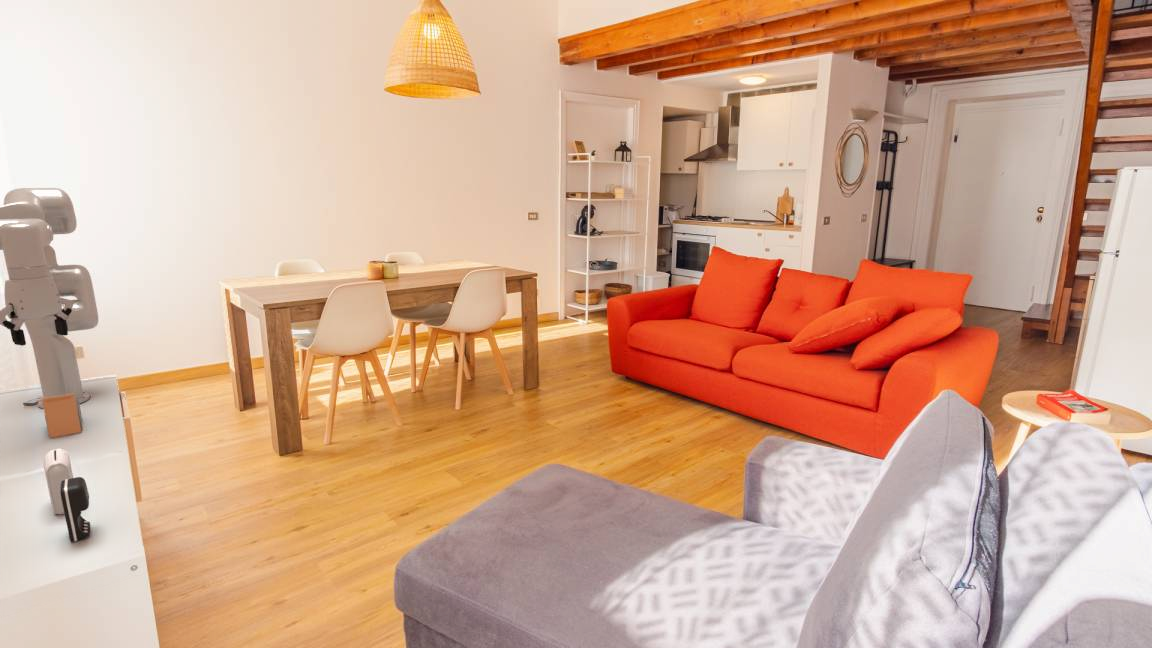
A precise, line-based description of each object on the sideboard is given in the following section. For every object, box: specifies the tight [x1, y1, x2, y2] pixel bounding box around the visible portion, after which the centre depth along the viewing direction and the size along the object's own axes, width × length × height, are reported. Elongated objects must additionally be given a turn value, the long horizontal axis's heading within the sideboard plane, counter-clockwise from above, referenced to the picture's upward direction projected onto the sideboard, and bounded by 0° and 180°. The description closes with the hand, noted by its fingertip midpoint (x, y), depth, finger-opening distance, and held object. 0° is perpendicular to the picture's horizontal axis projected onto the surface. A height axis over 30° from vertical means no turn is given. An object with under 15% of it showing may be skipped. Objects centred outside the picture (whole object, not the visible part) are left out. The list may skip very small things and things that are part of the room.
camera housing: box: [44, 400, 83, 438], centre depth 171 cm, size 10×7×8 cm
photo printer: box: [43, 448, 74, 515], centre depth 134 cm, size 10×4×12 cm, turn 39°
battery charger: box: [60, 476, 91, 543], centre depth 124 cm, size 7×4×11 cm, turn 37°
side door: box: [41, 393, 82, 440], centre depth 166 cm, size 1×7×12 cm, turn 128°
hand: (42, 339), depth 157 cm, fingers open, 9 cm apart
